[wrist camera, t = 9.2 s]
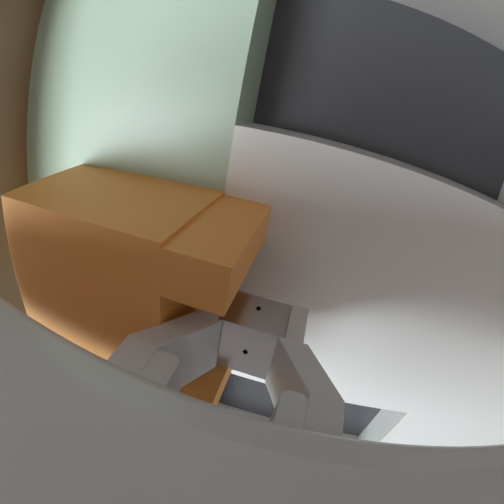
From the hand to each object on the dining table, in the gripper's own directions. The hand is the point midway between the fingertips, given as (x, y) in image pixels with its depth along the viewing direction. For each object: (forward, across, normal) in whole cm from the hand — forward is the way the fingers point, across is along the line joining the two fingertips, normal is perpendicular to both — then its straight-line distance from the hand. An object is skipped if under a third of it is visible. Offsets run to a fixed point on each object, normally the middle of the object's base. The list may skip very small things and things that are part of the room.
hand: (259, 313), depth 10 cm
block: (+1, +5, 0) cm, 5 cm away
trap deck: (+4, -3, 0) cm, 5 cm away
